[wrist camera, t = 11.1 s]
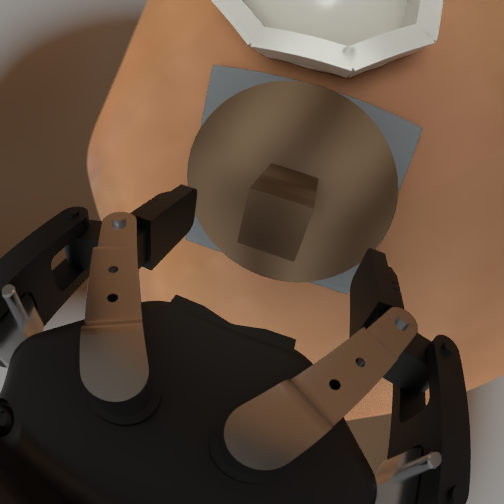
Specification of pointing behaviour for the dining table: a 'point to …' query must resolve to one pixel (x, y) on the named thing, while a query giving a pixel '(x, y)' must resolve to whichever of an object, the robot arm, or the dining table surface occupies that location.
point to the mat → (392, 126)
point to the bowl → (335, 30)
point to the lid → (293, 181)
